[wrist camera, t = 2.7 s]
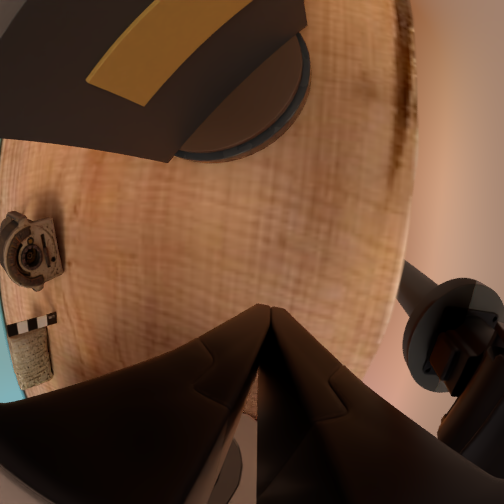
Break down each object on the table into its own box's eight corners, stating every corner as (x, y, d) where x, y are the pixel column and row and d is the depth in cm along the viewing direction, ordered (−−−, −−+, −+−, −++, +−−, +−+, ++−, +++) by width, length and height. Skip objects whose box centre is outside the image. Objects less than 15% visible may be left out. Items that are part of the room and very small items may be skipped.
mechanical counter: (28, 327, 22) (18, 250, 18) (-26, 266, 23) (-35, 194, 18) (69, 294, 29) (73, 221, 24) (12, 244, 29) (11, 176, 24)
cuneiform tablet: (56, 312, 28) (64, 387, 30) (41, 297, 29) (49, 369, 32) (6, 326, 21) (25, 404, 24) (-5, 307, 23) (12, 384, 26)
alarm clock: (294, 423, 23) (238, 622, 4) (280, 467, 24) (231, 623, 5) (100, 364, 27) (-28, 459, 8) (110, 411, 29) (10, 504, 10)
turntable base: (317, 13, 17) (316, 3, 15) (299, 173, 19) (298, 171, 18) (162, 21, 19) (154, 14, 18) (130, 159, 22) (120, 157, 21)
